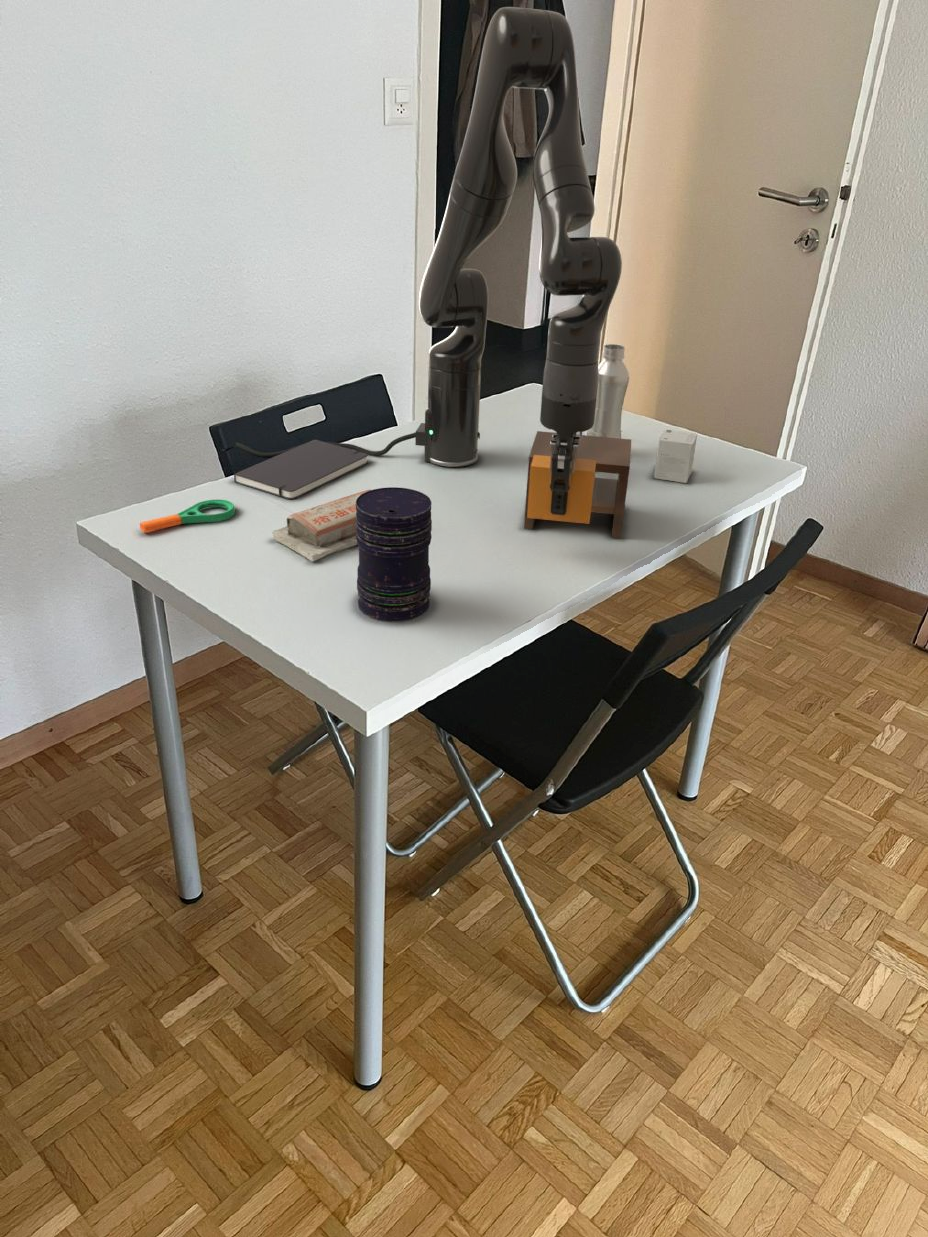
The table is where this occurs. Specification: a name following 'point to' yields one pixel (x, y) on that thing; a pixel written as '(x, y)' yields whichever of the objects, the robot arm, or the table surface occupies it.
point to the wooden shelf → (609, 459)
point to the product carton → (675, 456)
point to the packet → (577, 494)
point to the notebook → (301, 469)
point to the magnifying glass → (191, 515)
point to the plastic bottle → (610, 393)
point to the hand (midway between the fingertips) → (559, 506)
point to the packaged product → (321, 528)
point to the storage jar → (393, 553)
